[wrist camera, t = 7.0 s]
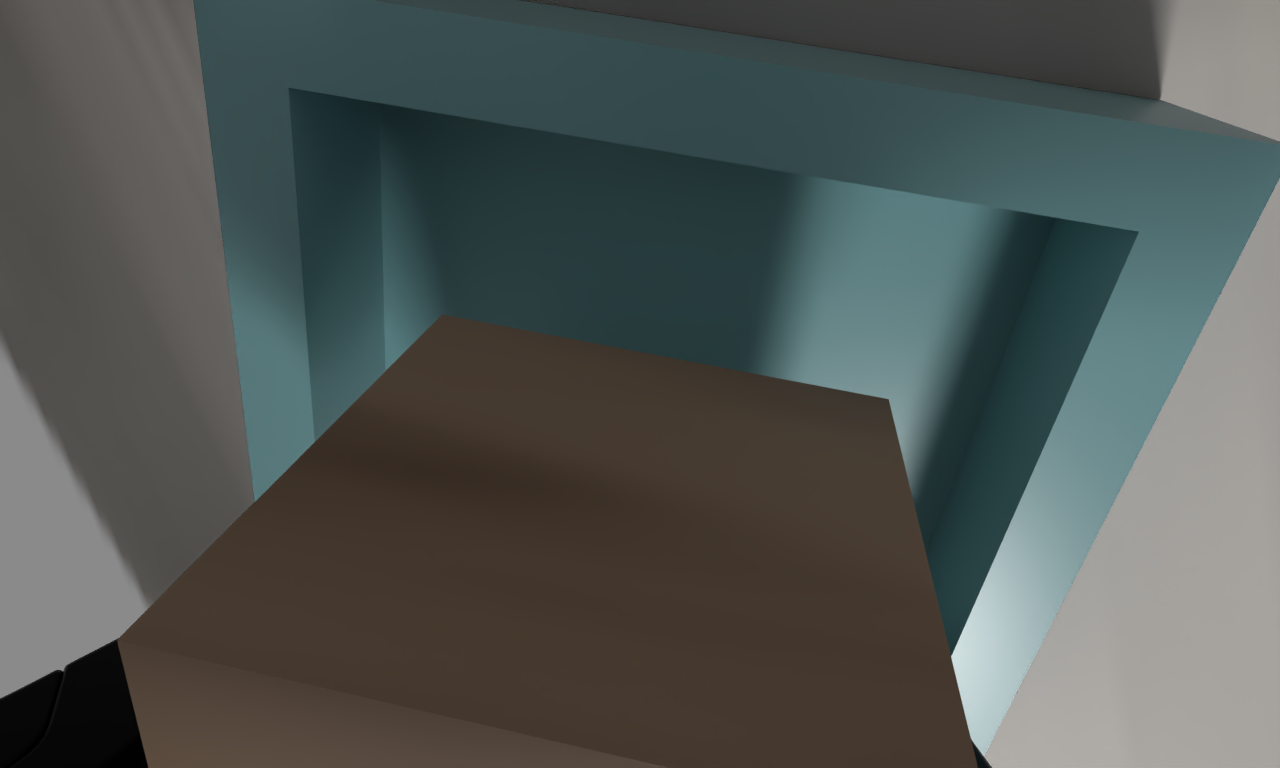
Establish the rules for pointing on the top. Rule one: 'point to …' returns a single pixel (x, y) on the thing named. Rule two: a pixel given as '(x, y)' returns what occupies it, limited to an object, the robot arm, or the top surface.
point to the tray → (737, 247)
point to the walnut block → (563, 579)
